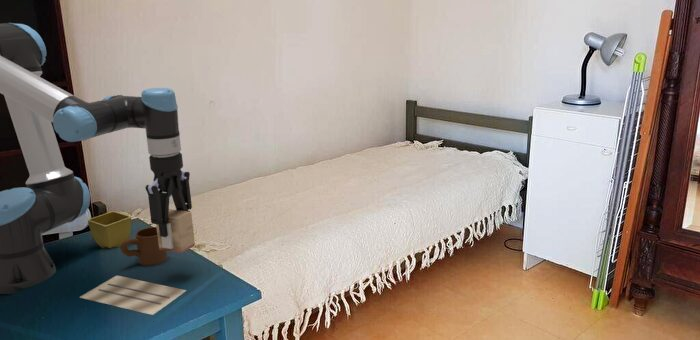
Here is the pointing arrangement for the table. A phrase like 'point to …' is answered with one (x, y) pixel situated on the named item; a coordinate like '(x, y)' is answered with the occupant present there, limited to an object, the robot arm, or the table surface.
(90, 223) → the flower pot
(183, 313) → the table surface
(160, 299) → the board
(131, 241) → the mug
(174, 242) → the block
